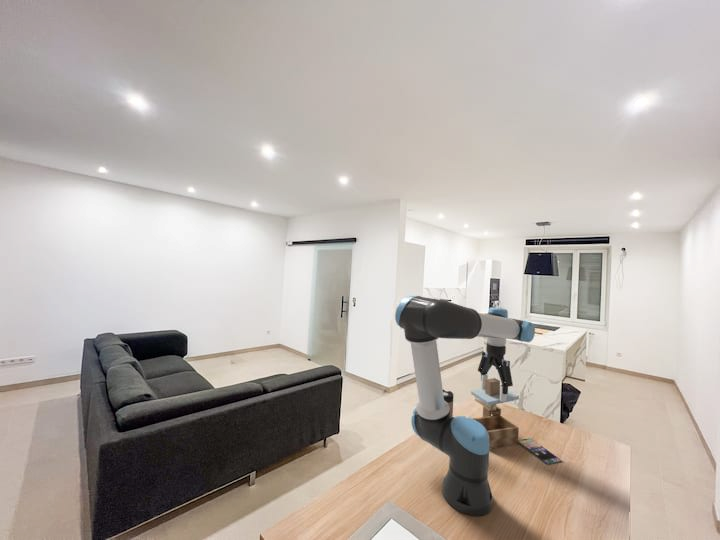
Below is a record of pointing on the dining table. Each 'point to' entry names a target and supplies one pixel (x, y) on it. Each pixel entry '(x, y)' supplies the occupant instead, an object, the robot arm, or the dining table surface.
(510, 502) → the dining table surface
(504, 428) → the open wooden box
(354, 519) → the dining table surface
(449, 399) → the travel mug
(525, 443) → the smartphone
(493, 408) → the beige rectangular block
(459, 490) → the robot arm
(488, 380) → the lid
